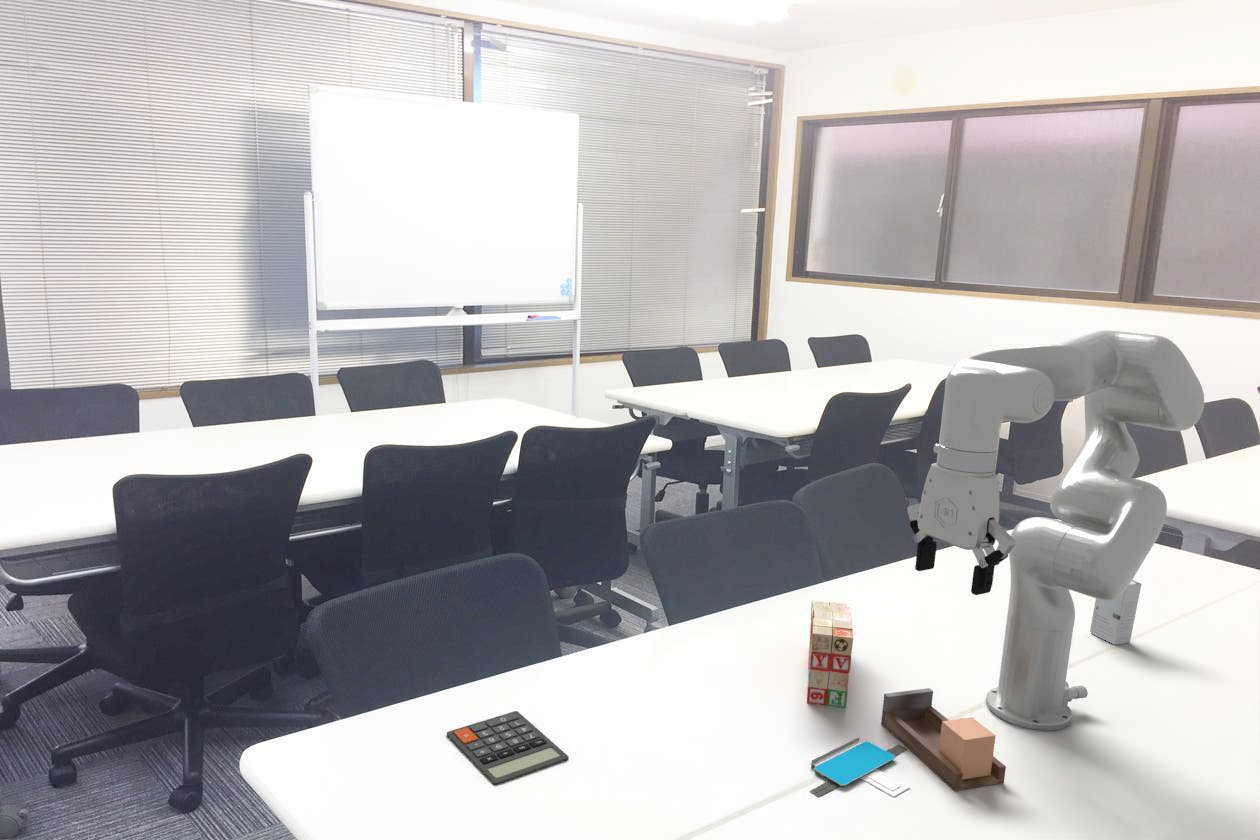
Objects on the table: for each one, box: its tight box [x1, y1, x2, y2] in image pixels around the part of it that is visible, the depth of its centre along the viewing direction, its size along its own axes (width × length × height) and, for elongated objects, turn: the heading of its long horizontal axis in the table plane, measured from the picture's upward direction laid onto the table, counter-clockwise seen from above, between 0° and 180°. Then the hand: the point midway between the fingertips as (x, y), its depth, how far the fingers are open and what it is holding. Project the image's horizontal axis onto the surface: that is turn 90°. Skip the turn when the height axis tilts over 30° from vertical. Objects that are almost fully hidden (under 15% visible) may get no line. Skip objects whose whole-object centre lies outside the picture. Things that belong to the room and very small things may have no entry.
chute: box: [880, 687, 1007, 792], centre depth 135 cm, size 8×18×5 cm, turn 17°
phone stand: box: [809, 736, 911, 798], centre depth 129 cm, size 20×12×2 cm, turn 129°
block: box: [939, 716, 996, 780], centre depth 129 cm, size 5×5×6 cm
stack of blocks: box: [806, 600, 854, 709], centre depth 156 cm, size 21×6×12 cm, turn 169°
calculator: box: [446, 710, 569, 786], centre depth 132 cm, size 12×1×15 cm
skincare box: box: [1089, 579, 1142, 645], centre depth 176 cm, size 6×4×12 cm
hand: (951, 580), depth 128 cm, fingers open, 9 cm apart
